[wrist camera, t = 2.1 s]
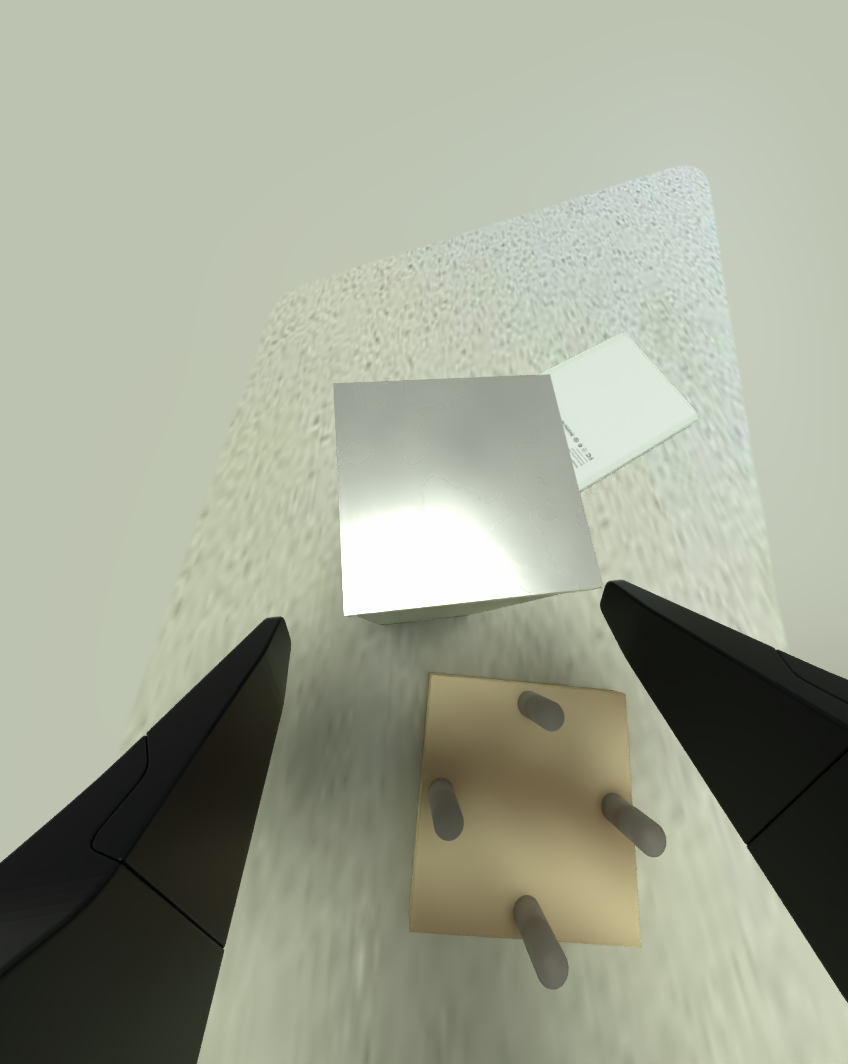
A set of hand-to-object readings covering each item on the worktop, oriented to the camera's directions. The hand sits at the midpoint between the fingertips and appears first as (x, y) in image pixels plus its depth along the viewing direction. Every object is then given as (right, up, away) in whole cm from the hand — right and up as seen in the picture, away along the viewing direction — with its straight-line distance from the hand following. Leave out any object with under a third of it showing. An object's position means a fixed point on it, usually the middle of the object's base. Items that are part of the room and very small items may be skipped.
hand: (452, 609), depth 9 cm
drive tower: (-1, 0, +10) cm, 10 cm away
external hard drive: (+10, +10, +15) cm, 20 cm away
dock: (+4, -11, +7) cm, 14 cm away
